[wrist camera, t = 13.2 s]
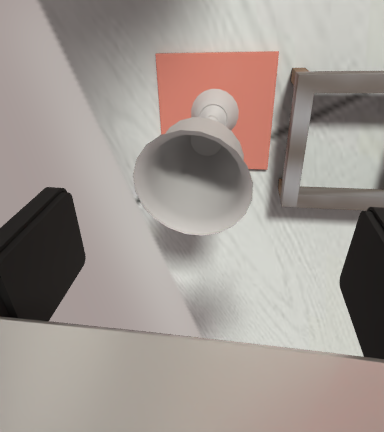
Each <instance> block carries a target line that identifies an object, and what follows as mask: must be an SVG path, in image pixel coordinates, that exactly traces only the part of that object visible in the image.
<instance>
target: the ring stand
mask: <svg viewBox="0 0 384 432" xmlns="http://www.w3.org/2000/svg"><path fill="white" fill-rule="evenodd" d="M291 82H292V83H293V85H294V91H293V99H292V107H291V115H290V123H289V131H288V139H287V146H286V154H285V162H284V170H283V178H282V179H279V184H278V190H279V195H280V201H281V206H282V207H297V208H320V209H343V210H365V211H367V209H368V208H369V207H382V208H384V190H381V189H354V188H326V187H300V180H301V174H302V168H303V161H304V155H305V148H306V142H307V136H308V129H309V123H310V117H311V110H312V104H313V97H314V93H384V71H318V72H309V71H308V70H307V69H306V68H292V76H291Z"/></svg>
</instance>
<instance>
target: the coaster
mask: <svg viewBox="0 0 384 432" xmlns="http://www.w3.org/2000/svg"><path fill="white" fill-rule="evenodd" d="M278 55H279V51H264V52H204V53H156V66H157V80H158V93H159V107H160V121H161V134H165V133H166V132H167V130H168V129H169V128H170V127H171V126H173V125H174V124H176V123H177V122H179V121H180V120H184V119H188V118H191V108H192V105H193V102H194V101H195V99H196V98H197V96H198V95H200V94H201V93H202V92H204V91H206V90H209V89H221V90H223V91H226V92H228V93H229V94H230V95H231V96H233V98H234V100H235V101H236V103H237V106H238V110H239V115H238V120H237V123H236V125H235V127H234V128H233V129H232V130H231V131H232V132H233V134H234V135H235V136H236V138H237V139H238V140H239V142H240V144H241V148H242V151H243V154H244V162H245V163H246V165H247V166H248V169H267V167H268V157H269V147H270V137H271V127H272V116H273V106H274V96H275V86H276V76H277V66H278Z"/></svg>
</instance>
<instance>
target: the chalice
mask: <svg viewBox="0 0 384 432" xmlns="http://www.w3.org/2000/svg"><path fill="white" fill-rule="evenodd" d="M238 115H239V110H238V106H237V103H236V101H235V100H234V98H233V96H231V95H230V94H229V93H228V92H226V91H223V90H221V89H209V90H206V91H204V92H202V93H201V94H200V95H198V96H197V98H196V99H195V101H194V102H193V105H192V108H191V118H188V119H184V120H180V121H179V122H177V123H176V124H174V125H173V126H171V127H170V128H169V129H168V130H167V132H166V133H165V134H162V135H160V136H159V137H157V138H156V139H154V140H153V141H151V142H150V143H148V144H147V145H146V146H145V147H144V149H143V150H142V152H141V153H140V155H139V156H138V158H137V159H136V164H135V169H134V173H133V178H134V184H135V191H136V193H137V195H138V197H139V199H140V201H141V203H142V205H143V207H144V208H145V209H146V210H147V211H148V212H149V213H150V214H151V215H152V216H153V218H154V219H156V220H157V221H159V222H160V223H162V224H163V225H165V226H166V227H168V228H170V229H173V230H176V231H178V232H181V233H184V234H191V235H201V236H203V235H209V234H216V233H220V232H222V231H224V230H226V229H228V228H230V227H233V226H234V225H235V224H236V223H237V222H238V221H239V220H240V219H241V218H242V217H243V216H244V215H245V214H246V212H247V210H248V208H249V205H250V203H251V201H252V191H253V182H252V179H251V176H250V172H249V169H248V166H247V165H246V163H245V162H244V154H243V151H242V148H241V144H240V142H239V140H238V139H237V138H236V136H235V135H234V134H233V132H232V131H231V130H232V129H233V128H234V127H235V125H236V123H237V120H238Z"/></svg>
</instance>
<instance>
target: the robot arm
mask: <svg viewBox="0 0 384 432" xmlns="http://www.w3.org/2000/svg"><path fill="white" fill-rule="evenodd" d="M84 263H85V252H84V247H83V243H82V238H81V234H80V229H79V225H78V221H77V216H76V212H75V207H74V203H73V199H72V195H71V194H70V193H67V191H66V190H65V189H64V188H52V187H47V188H45V189H44V190H43V191H41V192H40V193H39V194H38V195H37V196H36V197H35V198H33V199H32V200H31V201H30V202H29V203H28V204H27V205H26V206H25V207H23V208H22V209H21V210H20V211H19V212H18V213H17V214H16V215H14V216H13V217H12V218H11V219H10V220H9V221H8V222H7V223H6V224H5V225H3V226H2V227H1V228H0V432H384V208H382V207H369V208H368V209H367V211H362V212H361V213H360V216H359V219H358V222H357V225H356V228H355V231H354V235H353V238H352V241H351V244H350V247H349V251H348V254H347V257H346V260H345V263H344V266H343V270H342V273H341V276H340V288H341V291H342V294H343V297H344V300H345V303H346V306H347V309H348V312H349V314H350V317H351V320H352V323H353V326H354V329H355V332H356V335H357V338H358V340H359V343H360V346H361V349H362V352H363V355H364V357H361V356H352V355H344V354H336V353H329V352H320V351H312V350H303V349H294V348H286V347H277V346H268V345H260V344H251V343H243V342H234V341H225V340H216V339H207V338H198V337H189V336H180V335H171V334H161V333H153V332H144V331H134V330H125V329H116V328H106V327H97V326H87V325H78V324H68V323H59V322H49V320H50V318H51V316H52V315H53V313H54V312H55V310H56V309H57V307H58V305H59V304H60V302H61V301H62V299H63V297H64V296H65V294H66V293H67V291H68V289H69V288H70V286H71V285H72V283H73V281H74V280H75V278H76V277H77V275H78V274H79V272H80V270H81V269H82V267H83V265H84Z"/></svg>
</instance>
